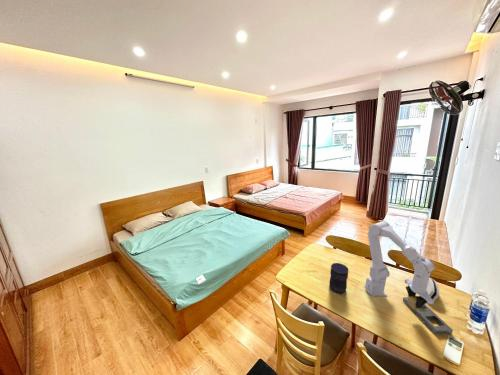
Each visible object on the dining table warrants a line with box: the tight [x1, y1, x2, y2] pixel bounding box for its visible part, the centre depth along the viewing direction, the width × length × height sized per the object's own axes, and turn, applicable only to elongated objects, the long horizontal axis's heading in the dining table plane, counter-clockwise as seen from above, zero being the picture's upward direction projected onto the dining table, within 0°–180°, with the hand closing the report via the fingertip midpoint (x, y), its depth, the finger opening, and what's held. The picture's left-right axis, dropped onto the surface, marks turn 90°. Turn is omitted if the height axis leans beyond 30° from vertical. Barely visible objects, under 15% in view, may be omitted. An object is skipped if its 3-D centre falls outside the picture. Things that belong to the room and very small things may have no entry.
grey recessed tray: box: [402, 296, 454, 336], centre depth 103 cm, size 8×20×2 cm, turn 2°
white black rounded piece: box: [426, 277, 440, 303], centre depth 117 cm, size 17×5×10 cm, turn 148°
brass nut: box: [407, 295, 422, 310], centre depth 101 cm, size 4×4×6 cm
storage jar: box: [328, 262, 349, 295], centre depth 122 cm, size 10×10×15 cm
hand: (414, 303), depth 101 cm, fingers closed on brass nut, 4 cm apart
